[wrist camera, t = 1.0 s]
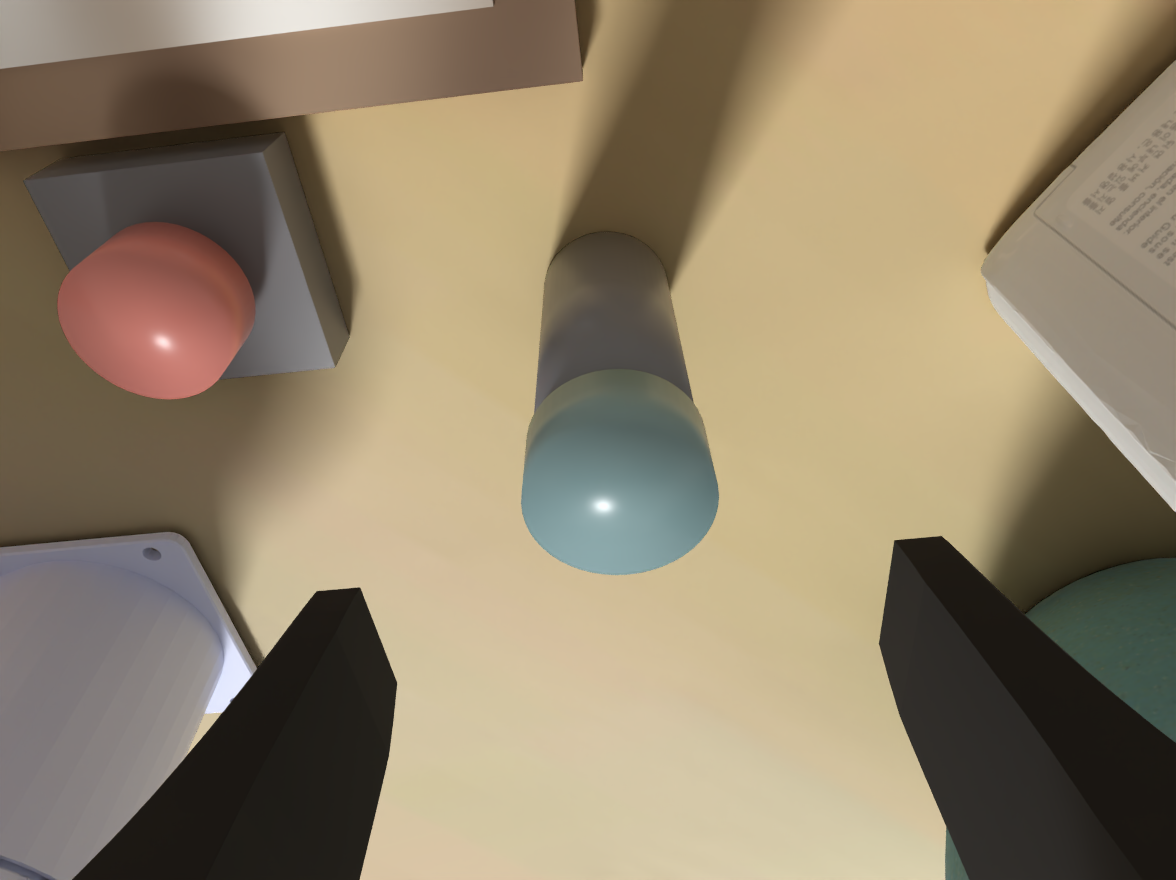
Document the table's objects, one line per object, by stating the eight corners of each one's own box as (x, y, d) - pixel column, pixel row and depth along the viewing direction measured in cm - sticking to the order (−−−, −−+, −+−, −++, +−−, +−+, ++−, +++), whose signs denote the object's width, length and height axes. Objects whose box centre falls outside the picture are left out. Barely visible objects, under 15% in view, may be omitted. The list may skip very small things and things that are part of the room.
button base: (156, 357, 21) (130, 388, 19) (61, 158, 18) (22, 180, 16) (349, 337, 20) (335, 367, 19) (284, 131, 17) (262, 151, 16)
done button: (137, 367, 18) (103, 406, 17) (69, 231, 16) (25, 263, 15) (276, 352, 18) (252, 391, 17) (222, 213, 16) (191, 244, 15)
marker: (549, 355, 21) (537, 582, 14) (530, 235, 19) (506, 433, 12) (674, 342, 20) (719, 566, 14) (668, 220, 19) (716, 413, 12)
